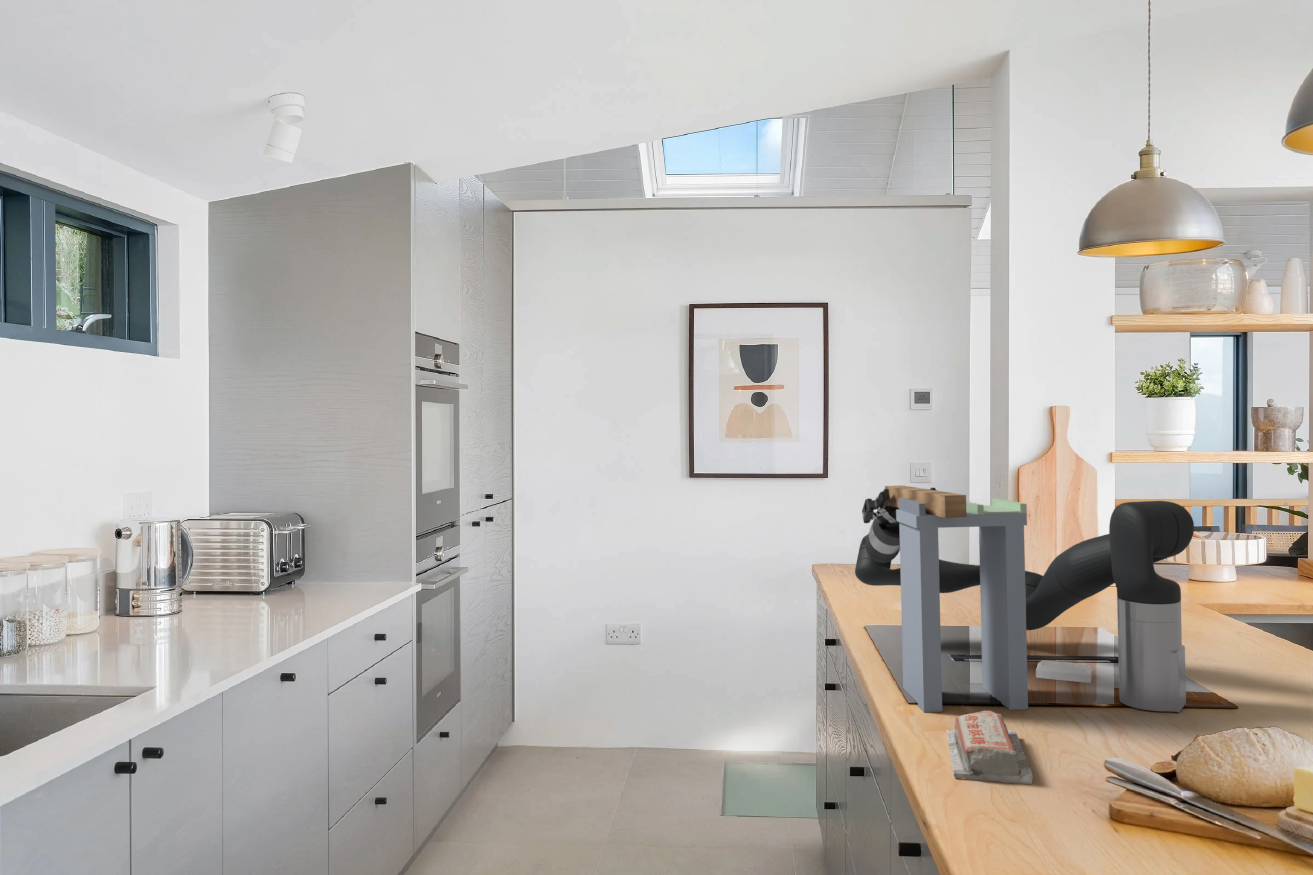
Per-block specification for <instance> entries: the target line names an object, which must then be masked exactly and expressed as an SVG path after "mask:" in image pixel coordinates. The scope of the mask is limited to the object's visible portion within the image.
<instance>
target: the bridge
mask: <svg viewBox="0 0 1313 875" xmlns="http://www.w3.org/2000/svg"><path fill="white" fill-rule="evenodd" d="M1027 506H1028V505H1027V503H1024V502H1019V501H1015V500H1008V499H1003V498H997V497H995V498H993V497H992V505H990V504H989V505H984V504H981V503H977V502H971V501H968V500H966V513H967V517H957V518H943V517H939V516H934V515H930V514H925V503H922V502H918V501H914V500H910V499H907V498H899V509H897V510H896V521H898V522H899V530H900V551H899V560H900V561H899V562H900V565H899V568H900V572H901V586H900V608H901V609H900V610H901V611H900V612H901V613H900V614H901V643H902V644H901V649H902V651H901V652H902V655H901V656H902V687H903V688H904V689H905V690H906V691H907V692H908V693H909V694H910V695H911V696H912V697H913V698H914V699H915V700H916V701H917V703H918V706H917V707H918V708H919V709H921V711H922V712H923V713H942V712H943V685H942V683H943V679H942V643H941V642H942V641H941V640H942V639H941V635H942V634H941V633H942V632H941V602H940V601H941V600H940V597H941V596H940V595H941V593H940V589H939V559H940V558H939V557H940V556H939V555H940V552H939V529H940V528H941V529H943V528H974V527H975V528H976V527H977V528H978V542H979V544H978V545H979V546H978V547H979V549H978V550H979V565H980V585H979V587H980V592H979V593H980V594H979V595H980V628H981V629H980V630H981V632H980V635H981V639H980V640H981V673H982V674H981V676H982V677H981V678H982V689H983V688H984V689H985V690H986V691H987V692H988V693H987V692H986V691H985V690H984V689H983V690H984V691H985V692H986V693H987V694H989V693H990V694H991V695H992V698H994V697H995V698H996V699H997V700H996V699H995V698H994V699H995V700H996V701H998V700H999V701H1001V702H1002V703H1001V704H1002V705H1003V706H1004V707H1005V708H1006V709H1008V710H1009V711H1017V710H1020V711H1021V710H1022V711H1023V710H1029V694H1028V692H1029V691H1028V690H1029V689H1028V687H1029V686H1028V647H1027V642H1028V640H1027V630H1026V593H1025V571H1026V560H1025V558H1026V557H1025V550H1026V549H1025V526H1028V518H1027V517H1028V513H1027V511H1028V508H1027ZM903 688H902V689H903ZM990 694H989V695H990ZM991 695H990V696H991ZM999 701H998V702H999Z"/></svg>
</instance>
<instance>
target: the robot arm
mask: <svg viewBox="0 0 1313 875" xmlns="http://www.w3.org/2000/svg"><path fill="white" fill-rule="evenodd" d="M929 490H936V491H939V490H937V489H936V487H930V488H929ZM889 500H890V495H889V490H888V489H885V488H883V491H880V492H879V494H878V496H877V497H875V499H872V498H865V500H864V502H863V507H862V508H861V509H862V510H861V514H862V520H863V523H864V524H870V523H871V521H872V523H871V525H870V528H869V531H868V534H866V535H865V536H863V537H862V539H861V542H860V544H859V548H858V553H857V559H856V564H855V568H854V574H855V577H856V578H857V579H858V581H860V582H862V583H863V584H865V585H867V586H877V587H879V586H880V587H881V586H883V587H884V586H898V587H899V586H900V587H901V572H900V567H898V568H895V569H892V568H891V565H892V561H893V560H894V559H895V558H896V557H897V556H898V555H899V554H900V530H899V522H898V521H896V510H897V509H899V508H897V507H893V506H888V505H887V504H888V502H889ZM875 510H876V511H875ZM1108 531H1109V532H1108V533H1107V534H1103V535H1100V536H1095V537H1092V538H1089V539H1086V540H1085V539H1084V540H1083V541H1081V542H1078V543H1075V544H1074V545H1072V546H1071V547H1068V548H1067V549H1066V550H1064V551H1063V552H1062V551H1061V553H1060V554H1058V555H1057V556H1055V557H1054V559H1053V560H1052V562H1050V564H1049V565H1048V567H1047V569H1046V571H1045V572H1044V574H1043V575H1042V574H1039V573H1037V572H1033V571H1029V570H1025V593H1026V631H1035V630H1039V629H1042V628H1044V627H1046V626H1049V625H1050V623H1052V622H1053V621H1055V619H1057V618H1058V617H1059V616H1061V615H1062V614H1064V612H1066V611H1067V610H1069V609H1070V608H1072V607H1074V606H1076V605H1077V604H1079V603H1081V602H1082V601H1084V600H1087V599H1088V598H1091V597H1093V596H1094V595H1097V594H1098V593H1100V592H1102V591H1104V590H1105V589H1107V588H1109V587H1110V586H1113V585H1114V584H1115V587H1116V600H1117V601H1116V602H1117V605H1116V606H1117V608H1116V610H1117V611H1116V612H1117V645H1118V646H1117V647H1118V648H1117V652H1118V653H1117V654H1118V655H1117V656H1118V659H1117V660H1118V693H1119V695H1118V696H1119V702H1120V703H1122V704H1124V705H1126V706H1128V707H1131V708H1135V709H1139V710H1143V711H1144V710H1145V711H1151V712H1152V711H1153V712H1173V713H1181V711H1182V710H1183V708H1184V706H1185V705H1186V704H1187V690H1186V689H1187V687H1186V686H1187V684H1186V683H1187V681H1186V676H1187V674H1186V648H1185V645H1183V642H1182V641H1183V636H1182V629H1183V628H1182V592H1181V586H1180V583H1178V582H1177V581H1175V580H1172V579H1170V578H1167V577H1164V576H1162V575H1160V574H1158V573H1157V572H1156V571H1155V565H1154V564H1155V563H1157V562H1160V561H1163V560H1165V559H1166V560H1167V559H1170V558H1172V557H1174V556H1177V555H1180V554H1181V553H1182V552H1183V551H1184V550H1186V548H1187V547H1188V546H1189V545H1190V543H1191V541H1192V540H1193V536H1194V533H1195V532H1194V531H1195V523H1194V519H1193V517H1192V515H1191V514H1190V512H1189V511H1188V510H1187V509H1186V508H1185V507H1183V505H1180V504H1178V503H1175V502H1172V501H1165V500H1151V501H1150V500H1148V501H1147V500H1145V501H1128V502H1127V501H1126V502H1123V503H1120V504H1117V506H1115V508H1114V509H1113V510H1112V513H1111V515H1110V518H1109V526H1108ZM979 586H980V564H977V565H976V564H969V563H968V564H967V563H960V562H954V561H948V560H943V559H940V558H939V589H940V594H948V593H949V594H951V593H954V592H958V591H962V590H965V589H969V588H972V587H979Z"/></svg>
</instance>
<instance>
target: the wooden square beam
mask: <svg viewBox="0 0 1313 875" xmlns="http://www.w3.org/2000/svg"><path fill="white" fill-rule="evenodd" d="M884 489H888V490H889V495H890V500H889V502H888V504H887V505H888V506H893V507H897V508H899V498H907V499H910V500H914V501H918V502H922V503H925V514H930V515H934V516H939V517H943V518H957V517H967V513H966V501H967V494H962V493H954V492H948V491H941V490H938V491H936V490H937V489H936V490H930V488H929V489H928V488H924V487H913V486H910V485H909V486H908V485H886V486H885V485H884Z"/></svg>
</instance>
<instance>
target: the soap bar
mask: <svg viewBox="0 0 1313 875" xmlns="http://www.w3.org/2000/svg"><path fill="white" fill-rule="evenodd" d="M1035 678H1037V679H1043V680H1044V679H1046V680H1056V681H1066V682H1077V683H1087V684H1088V683H1089V684H1091V683H1092V682H1091V681H1092V667H1091V666H1090V665H1088V664H1087V663H1079V662H1067V661H1058V660H1057V661H1056V660H1047V659H1045V660H1043V659H1042V660H1041V661H1039V662H1038V663H1037V666H1036V669H1035Z"/></svg>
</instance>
